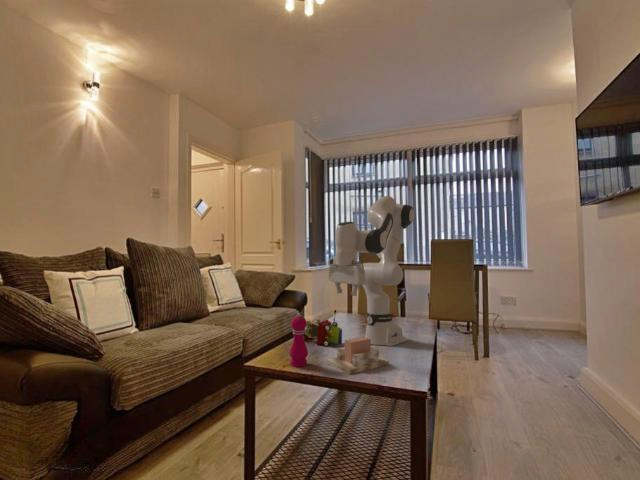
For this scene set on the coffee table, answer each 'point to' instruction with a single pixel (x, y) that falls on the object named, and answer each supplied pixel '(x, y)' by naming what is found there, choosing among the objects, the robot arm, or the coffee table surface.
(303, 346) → the pepper mill
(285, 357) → the coffee table surface
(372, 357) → the bookend rack
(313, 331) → the robot toy
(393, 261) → the robot arm
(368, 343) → the upright pink tile
